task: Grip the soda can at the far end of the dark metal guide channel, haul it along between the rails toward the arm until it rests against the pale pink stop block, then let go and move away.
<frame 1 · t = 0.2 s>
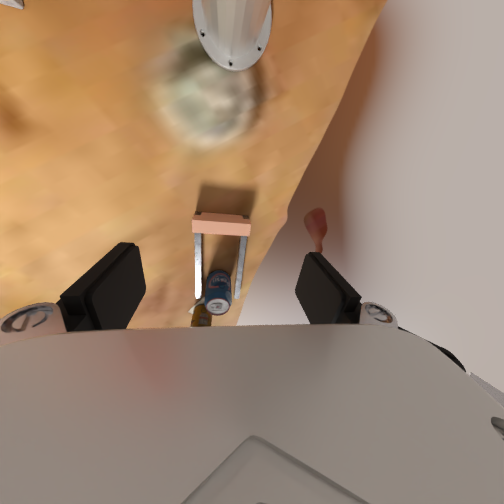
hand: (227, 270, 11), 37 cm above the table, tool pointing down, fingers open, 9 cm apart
soda can: (219, 277, 56), on the table
guide channel: (220, 258, 52), on the table
condiment: (205, 308, 61), on the table
stop block: (222, 219, 47), on the table
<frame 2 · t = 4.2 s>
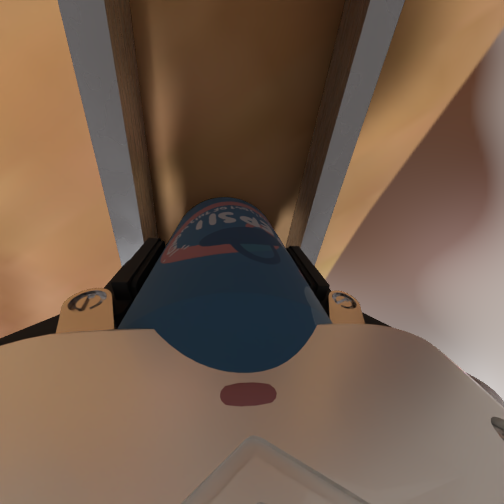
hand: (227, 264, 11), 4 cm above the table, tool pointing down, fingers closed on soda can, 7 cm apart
soda can: (226, 237, 15), on the table, touching gripper
guide channel: (233, 133, 11), on the table
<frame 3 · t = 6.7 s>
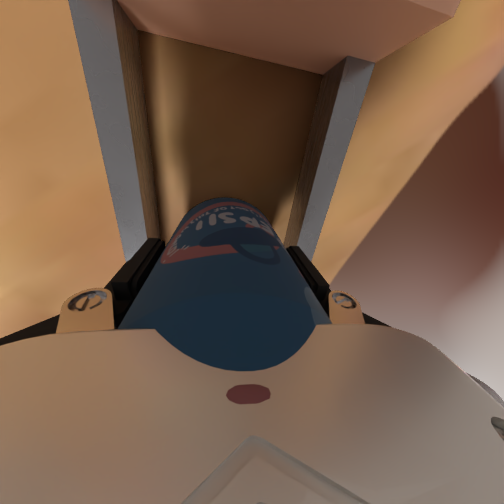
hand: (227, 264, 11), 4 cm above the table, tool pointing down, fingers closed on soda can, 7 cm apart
soda can: (226, 237, 15), on the table, touching gripper
guide channel: (226, 227, 15), on the table
stop block: (241, 13, 9), on the table
when the fingers open (4 cm above the table, at t = 9.2 s): soda can stays where it is, on the table.
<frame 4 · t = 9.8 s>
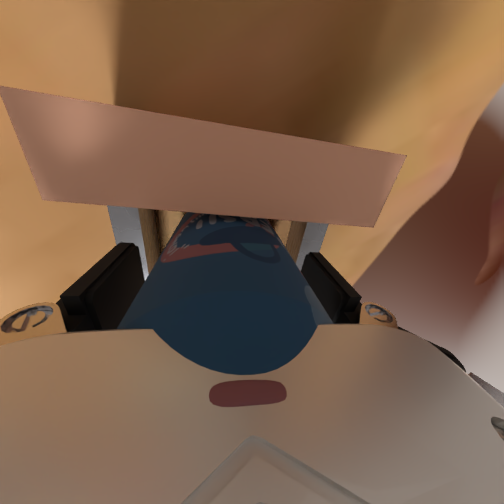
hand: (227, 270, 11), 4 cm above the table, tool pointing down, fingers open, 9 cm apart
soda can: (226, 237, 15), on the table
guide channel: (222, 299, 17), on the table
stop block: (231, 164, 12), on the table
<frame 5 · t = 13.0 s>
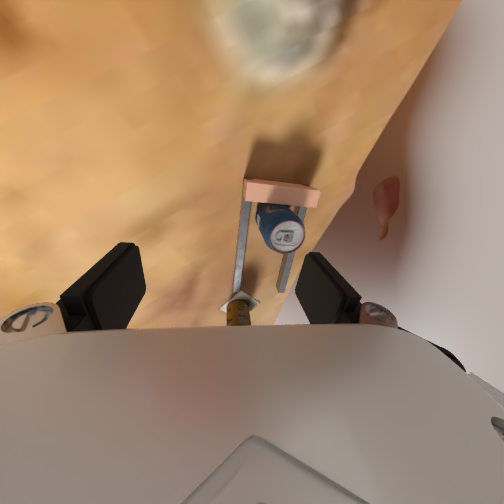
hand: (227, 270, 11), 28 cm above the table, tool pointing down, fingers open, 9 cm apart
soda can: (270, 214, 39), on the table
guide channel: (265, 241, 42), on the table
condiment: (239, 305, 51), on the table
stop block: (275, 189, 37), on the table
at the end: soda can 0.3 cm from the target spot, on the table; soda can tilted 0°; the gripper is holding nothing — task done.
